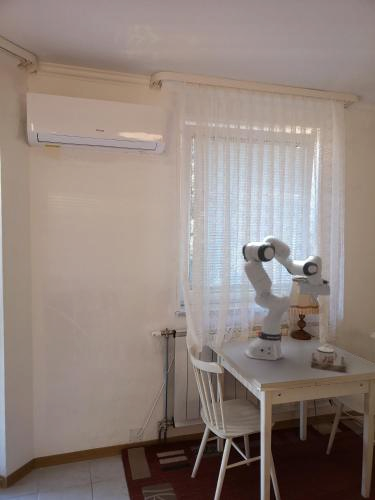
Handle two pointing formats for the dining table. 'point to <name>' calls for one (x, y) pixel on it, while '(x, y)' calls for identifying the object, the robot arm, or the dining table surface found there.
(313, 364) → the walnut tea frame
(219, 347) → the dining table surface
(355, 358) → the dining table surface
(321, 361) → the teacup with lid
